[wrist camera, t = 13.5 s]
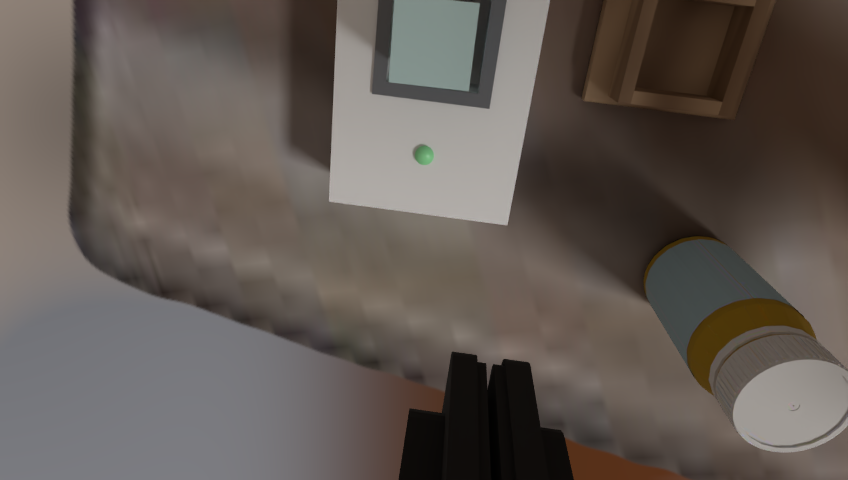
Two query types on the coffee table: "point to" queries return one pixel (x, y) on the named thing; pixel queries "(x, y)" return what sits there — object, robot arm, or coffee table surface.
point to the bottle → (747, 346)
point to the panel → (433, 116)
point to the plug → (433, 43)
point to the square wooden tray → (676, 54)
